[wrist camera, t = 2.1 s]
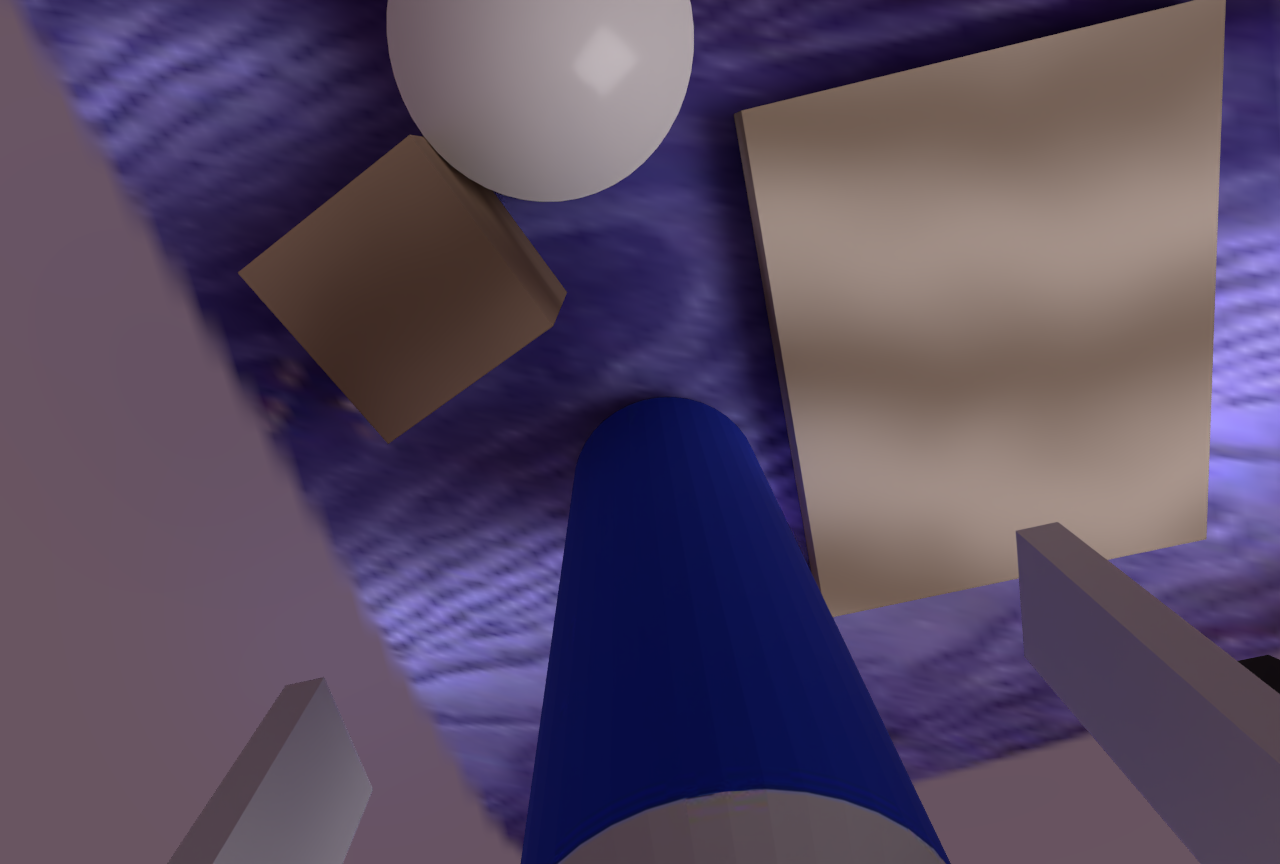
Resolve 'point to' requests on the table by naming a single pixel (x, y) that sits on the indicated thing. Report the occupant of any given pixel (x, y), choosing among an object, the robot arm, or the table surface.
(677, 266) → the table surface
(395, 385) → the walnut block
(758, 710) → the beverage can
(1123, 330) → the board
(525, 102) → the pale pink rounded block
